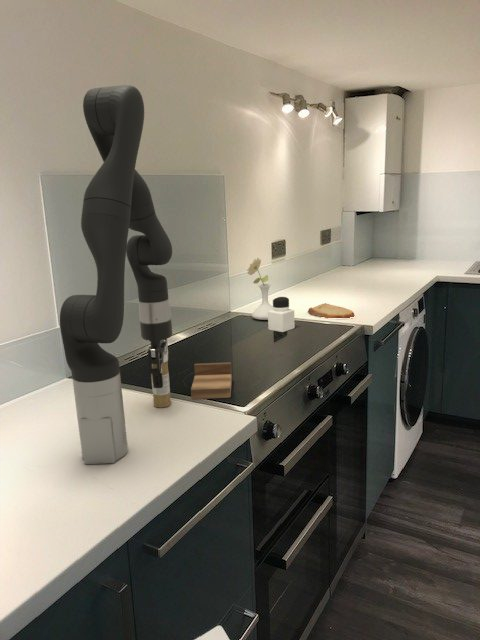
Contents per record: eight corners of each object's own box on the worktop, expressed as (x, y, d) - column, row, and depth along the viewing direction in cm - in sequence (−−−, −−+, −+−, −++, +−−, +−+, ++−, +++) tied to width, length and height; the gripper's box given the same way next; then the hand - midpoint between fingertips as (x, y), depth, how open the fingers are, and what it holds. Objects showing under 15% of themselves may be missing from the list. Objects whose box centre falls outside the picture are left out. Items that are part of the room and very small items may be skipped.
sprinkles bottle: (153, 401, 138) (149, 351, 135) (171, 400, 138) (167, 350, 135) (152, 409, 134) (148, 357, 130) (171, 407, 134) (167, 355, 131)
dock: (230, 397, 138) (229, 377, 137) (191, 399, 139) (190, 378, 137) (231, 381, 150) (230, 362, 149) (195, 382, 150) (194, 363, 149)
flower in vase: (268, 313, 227) (266, 254, 221) (285, 318, 218) (283, 256, 212) (242, 319, 220) (240, 257, 214) (259, 324, 211) (256, 260, 205)
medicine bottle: (294, 328, 202) (294, 296, 199) (283, 332, 197) (282, 300, 194) (280, 325, 207) (279, 294, 204) (268, 329, 202) (266, 298, 199)
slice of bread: (356, 319, 212) (356, 310, 211) (310, 321, 213) (310, 311, 212) (349, 309, 230) (349, 300, 229) (307, 310, 231) (307, 302, 230)
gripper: (166, 325, 124) (172, 391, 128) (174, 310, 137) (179, 370, 141) (133, 326, 124) (140, 392, 128) (145, 312, 138) (151, 372, 142)
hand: (161, 381), depth 135 cm, fingers open, 8 cm apart
